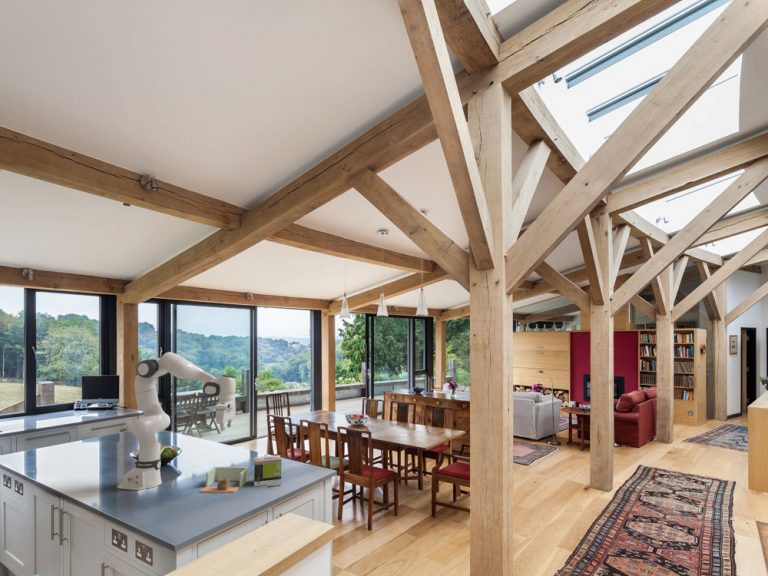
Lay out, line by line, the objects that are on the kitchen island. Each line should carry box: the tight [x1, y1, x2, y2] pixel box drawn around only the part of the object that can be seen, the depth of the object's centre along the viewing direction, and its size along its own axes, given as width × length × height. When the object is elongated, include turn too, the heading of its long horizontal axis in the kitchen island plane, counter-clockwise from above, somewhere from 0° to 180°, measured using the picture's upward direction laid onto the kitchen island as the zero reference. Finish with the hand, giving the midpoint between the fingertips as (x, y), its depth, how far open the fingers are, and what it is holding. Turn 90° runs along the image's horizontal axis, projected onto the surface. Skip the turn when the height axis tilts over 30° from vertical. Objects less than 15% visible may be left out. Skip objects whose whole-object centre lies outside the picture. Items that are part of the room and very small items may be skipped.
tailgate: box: [199, 486, 240, 494], centre depth 239 cm, size 19×1×8 cm
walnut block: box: [216, 478, 231, 490], centre depth 240 cm, size 5×5×5 cm
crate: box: [205, 466, 250, 488], centre depth 250 cm, size 20×12×8 cm, turn 89°
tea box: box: [253, 454, 282, 487], centre depth 253 cm, size 15×10×15 cm
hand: (225, 428), depth 248 cm, fingers open, 8 cm apart
